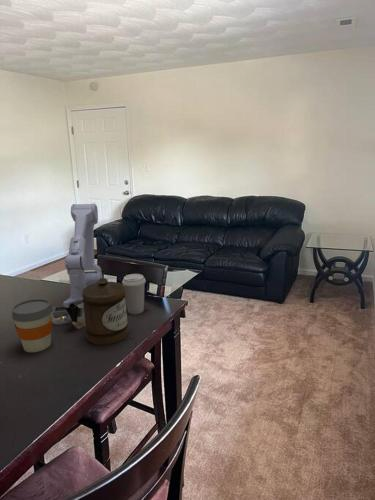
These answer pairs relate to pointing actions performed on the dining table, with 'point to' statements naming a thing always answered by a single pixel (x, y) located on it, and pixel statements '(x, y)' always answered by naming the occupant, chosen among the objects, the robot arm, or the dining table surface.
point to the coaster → (78, 325)
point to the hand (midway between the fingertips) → (81, 317)
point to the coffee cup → (134, 292)
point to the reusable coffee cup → (33, 324)
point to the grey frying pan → (60, 320)
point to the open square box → (59, 312)
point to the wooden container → (105, 312)
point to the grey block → (80, 314)
